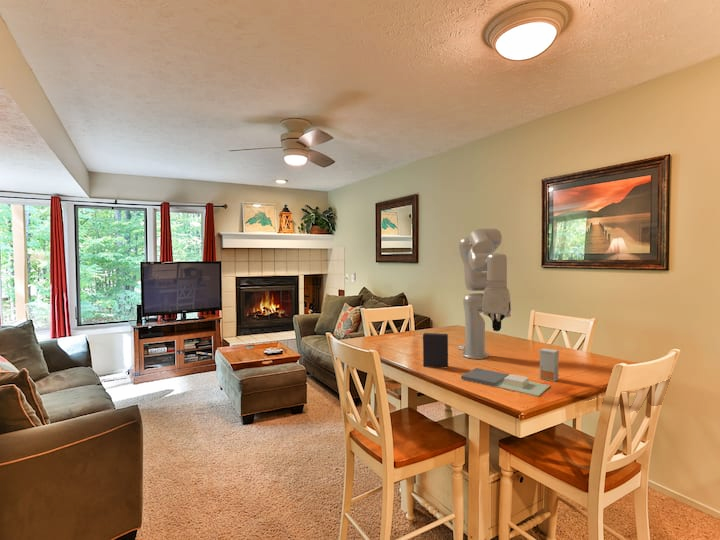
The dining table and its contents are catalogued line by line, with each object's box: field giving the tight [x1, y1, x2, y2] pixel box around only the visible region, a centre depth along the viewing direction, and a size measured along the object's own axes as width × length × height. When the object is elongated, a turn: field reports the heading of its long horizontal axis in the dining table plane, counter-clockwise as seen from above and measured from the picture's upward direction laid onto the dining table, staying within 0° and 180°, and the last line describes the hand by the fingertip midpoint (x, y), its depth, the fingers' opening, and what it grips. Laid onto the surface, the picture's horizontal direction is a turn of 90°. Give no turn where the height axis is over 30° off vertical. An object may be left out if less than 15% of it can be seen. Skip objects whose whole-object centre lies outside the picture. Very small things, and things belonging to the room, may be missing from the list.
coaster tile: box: [504, 373, 530, 389], centre depth 150 cm, size 7×7×2 cm
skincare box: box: [539, 347, 560, 382], centre depth 156 cm, size 6×4×12 cm
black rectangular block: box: [422, 332, 449, 368], centre depth 177 cm, size 11×4×15 cm, turn 74°
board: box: [460, 367, 510, 387], centre depth 158 cm, size 14×14×2 cm
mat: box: [494, 380, 551, 397], centre depth 148 cm, size 16×14×1 cm
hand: (496, 330), depth 154 cm, fingers closed
